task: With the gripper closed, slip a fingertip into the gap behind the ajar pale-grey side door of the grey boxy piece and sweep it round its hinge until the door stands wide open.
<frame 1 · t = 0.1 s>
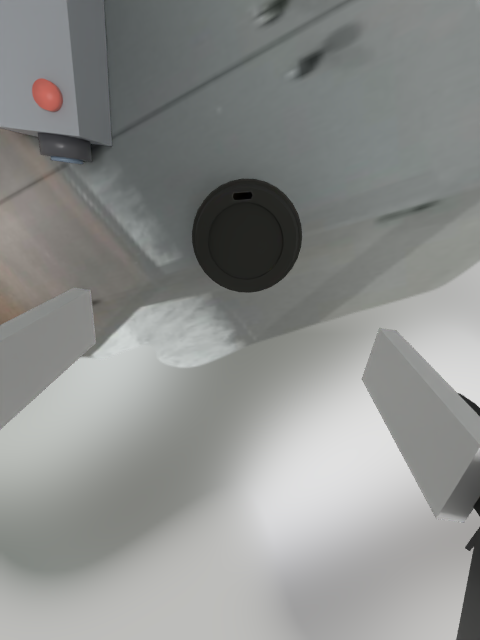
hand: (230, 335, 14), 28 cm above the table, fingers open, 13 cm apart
grey boxy piece: (66, 47, 32), on the table
coffee cup: (251, 224, 38), on the table
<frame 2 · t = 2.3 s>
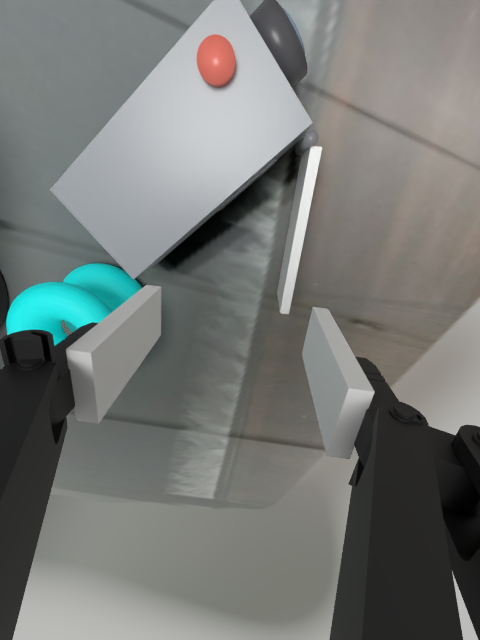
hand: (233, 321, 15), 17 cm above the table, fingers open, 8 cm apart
grey boxy piece: (193, 166, 28), on the table
donuts: (112, 302, 34), on the table
side door: (294, 229, 26), point 4 cm above the table, hinge at 45.0°
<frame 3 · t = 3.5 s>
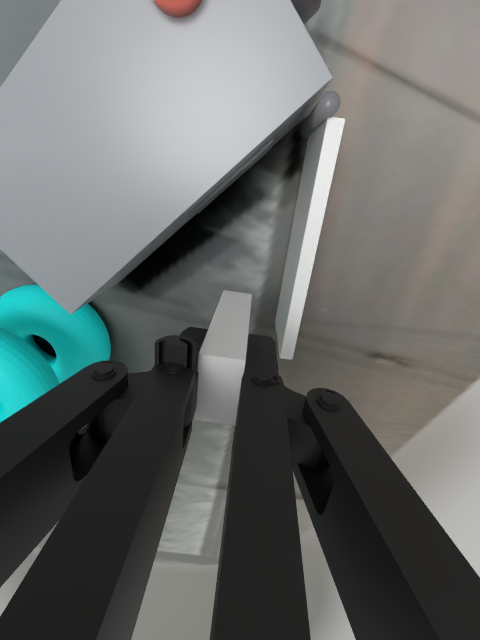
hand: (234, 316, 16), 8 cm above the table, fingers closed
grey boxy piece: (158, 153, 20), on the table
donuts: (62, 332, 27), on the table
side door: (299, 241, 18), point 4 cm above the table, hinge at 45.0°
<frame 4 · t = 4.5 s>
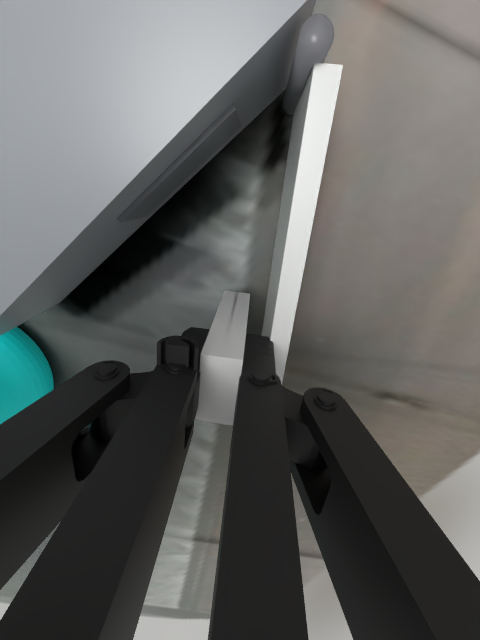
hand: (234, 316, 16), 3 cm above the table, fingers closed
grey boxy piece: (95, 137, 15), on the table
side door: (283, 257, 13), point 4 cm above the table, hinge at 45.9°, touching gripper
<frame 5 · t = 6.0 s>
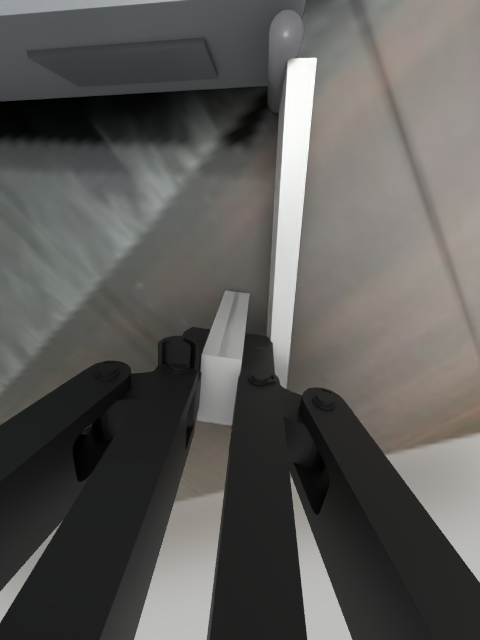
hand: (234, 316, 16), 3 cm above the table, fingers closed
side door: (279, 255, 13), point 4 cm above the table, hinge at 87.9°, touching gripper
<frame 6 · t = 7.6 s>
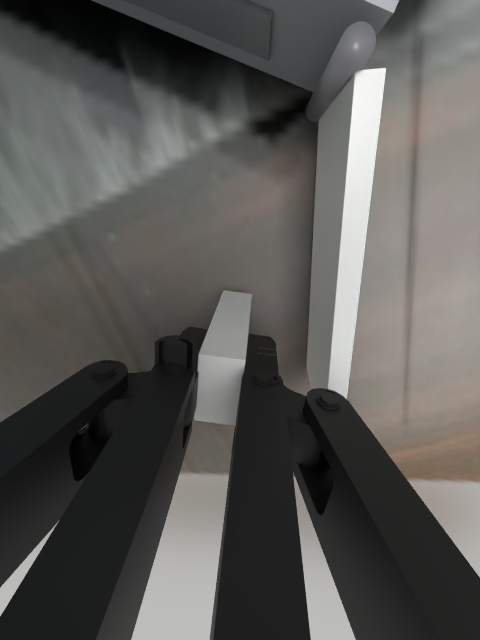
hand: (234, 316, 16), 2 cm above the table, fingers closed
side door: (328, 268, 13), point 4 cm above the table, hinge at 111.9°
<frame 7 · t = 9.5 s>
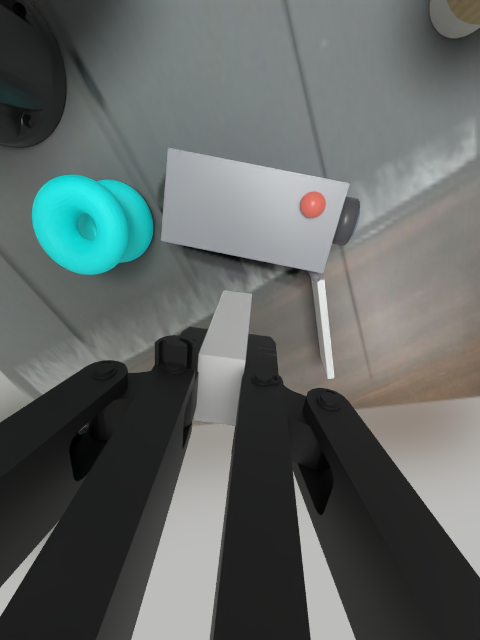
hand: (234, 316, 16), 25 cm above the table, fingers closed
grey boxy piece: (252, 211, 37), on the table
donuts: (120, 222, 39), on the table
side door: (320, 320, 37), point 4 cm above the table, hinge at 111.9°
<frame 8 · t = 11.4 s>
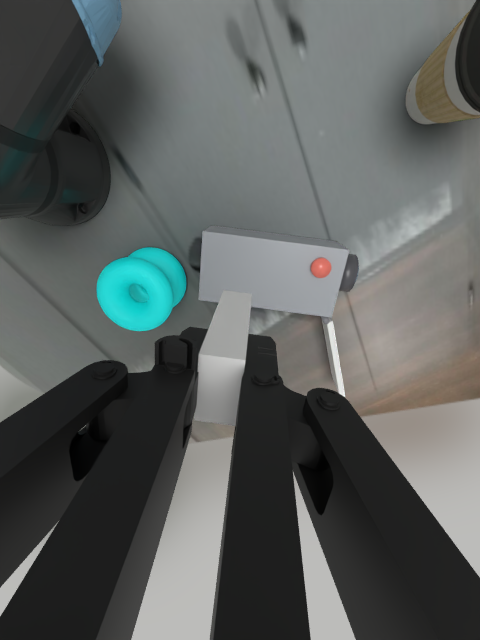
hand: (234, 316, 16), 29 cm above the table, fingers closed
grey boxy piece: (268, 263, 44), on the table
donuts: (157, 277, 46), on the table
coffee cup: (432, 94, 35), on the table
side door: (331, 349, 45), point 4 cm above the table, hinge at 111.9°
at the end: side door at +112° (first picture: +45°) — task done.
